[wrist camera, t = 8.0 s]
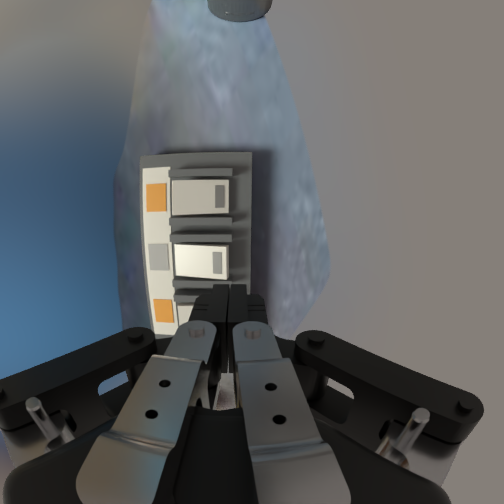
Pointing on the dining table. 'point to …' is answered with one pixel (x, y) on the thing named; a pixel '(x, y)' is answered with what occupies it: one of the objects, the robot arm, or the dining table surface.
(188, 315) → the switch
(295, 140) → the dining table surface
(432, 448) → the robot arm
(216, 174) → the switch unit
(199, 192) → the switch
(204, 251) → the switch mid
